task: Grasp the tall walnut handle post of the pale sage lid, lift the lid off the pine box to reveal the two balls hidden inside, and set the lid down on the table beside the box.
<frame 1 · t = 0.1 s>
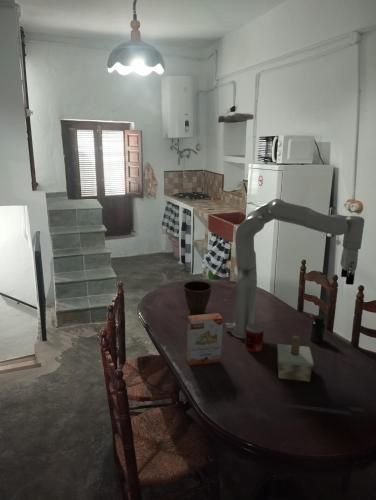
hand: (346, 280, 175), 31 cm above the table, fingers open, 9 cm apart
supplement bottle: (316, 340, 185), on the table
plant pot: (197, 313, 212), on the table
cracker box: (203, 361, 166), on the table
pine box: (292, 373, 158), on the table
lid: (294, 355, 156), point 8 cm above the table, touching pine box
canned food: (253, 349, 176), on the table
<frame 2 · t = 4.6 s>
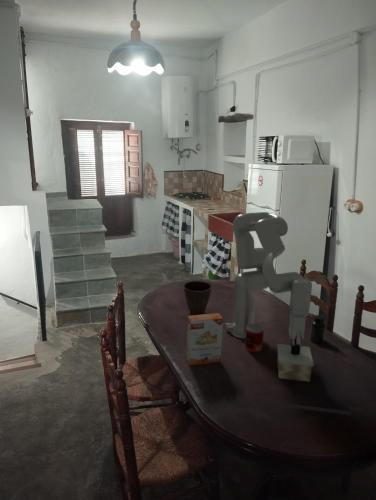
hand: (294, 351, 155), 10 cm above the table, fingers closed on lid, 3 cm apart
lid: (294, 355, 156), point 8 cm above the table, touching gripper, pine box
everything else where it was.
when the fingers open (3 cm above the table, at t = 11.9 s): lid drops 2 cm, on the table.
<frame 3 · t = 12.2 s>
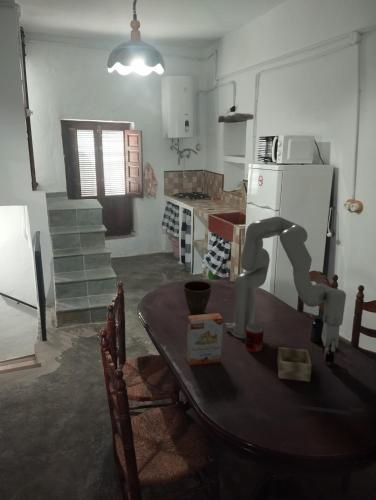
hand: (327, 357, 163), 4 cm above the table, fingers open, 6 cm apart
lid: (326, 366, 164), on the table
everything else where it was.
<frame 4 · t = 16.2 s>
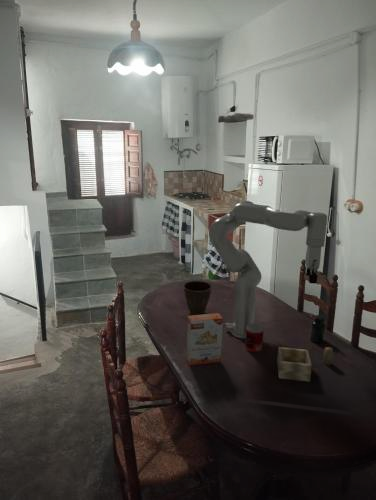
hand: (311, 279, 170), 33 cm above the table, fingers open, 9 cm apart
nothing on the table moved.
at the end: lid inside the target area (0.1 cm from its centre), on the table; lid touching table; lid tilted 0° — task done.
